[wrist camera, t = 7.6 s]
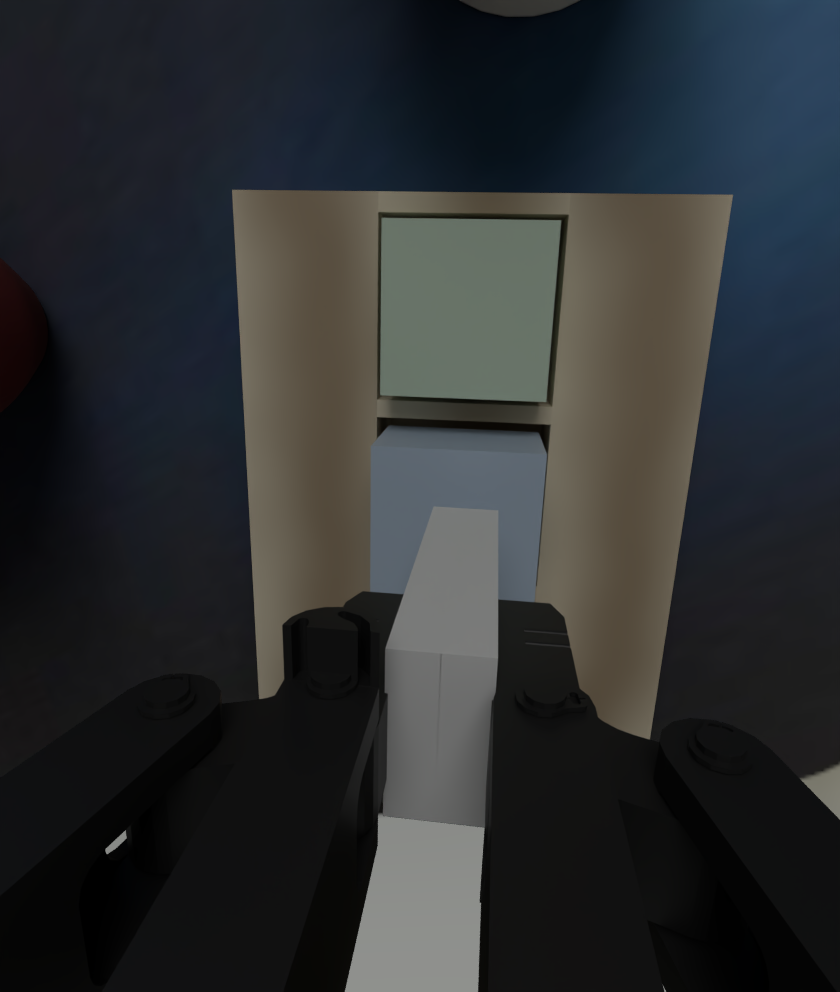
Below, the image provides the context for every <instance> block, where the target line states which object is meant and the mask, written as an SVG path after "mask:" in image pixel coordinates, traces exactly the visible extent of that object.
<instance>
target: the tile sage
mask: <svg viewBox="0 0 840 992" xmlns="http://www.w3.org/2000/svg"><path fill="white" fill-rule="evenodd" d="M560 229H561V220H506V219H434V218H382V234H381V353H380V395H384V396H409V397H433V398H458V399H482V400H507V401H531V402H546V398H547V386H548V374H549V362H550V350H551V338H552V326H553V313H554V301H555V289H556V277H557V265H558V253H559V241H560Z"/></svg>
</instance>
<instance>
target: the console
mask: <svg viewBox="0 0 840 992" xmlns="http://www.w3.org/2000/svg"><path fill="white" fill-rule="evenodd" d="M232 194H233V213H234V232H235V251H236V270H237V289H238V307H239V326H240V345H241V364H242V383H243V402H244V421H245V440H246V459H247V478H248V496H249V515H250V534H251V553H252V572H253V591H254V610H255V629H256V648H257V666H258V685H259V699H263V698H268V697H271V696H275V694H276V692H277V691H278V689H279V687H280V686H281V684H282V682H283V680H284V660H283V633H282V625H283V624H284V623H285V622H286V621H287V620H288V619H289V618H291V617H292V616H294V615H297V614H299V613H301V612H304V611H306V610H311V609H316V608H322V607H343V606H344V604H345V602H347V601H348V600H350V599H351V598H353V597H354V596H356V595H357V594H359V593H361V592H362V591H367V592H370V522H371V445H372V444H373V443H374V442H375V441H376V439H377V438H378V437H379V436H380V435H381V434H382V433H383V432H384V430H385V429H386V428H387V427H388V426H389V425H394V426H416V427H438V428H460V429H482V430H504V431H526V432H538V433H539V435H540V438H541V440H542V443H543V445H544V448H545V451H546V453H547V461H546V472H545V484H544V496H543V507H542V519H541V531H540V543H539V554H538V566H537V578H536V589H535V601H534V602H539V603H550V604H551V605H552V606H553V607H554V608H555V609H556V610H557V611H559V612H560V613H561V614H562V615H563V616H564V618H565V623H566V627H567V632H568V633H567V635H568V636H569V641H570V648H571V650H572V655H573V660H574V664H575V669H576V673H577V678H578V683H579V687H580V689H581V690H582V691H584V692H585V693H586V694H587V695H589V697H590V698H591V700H592V702H593V704H594V705H595V707H596V711H597V715H598V718H600V719H601V720H602V721H604V722H605V723H607V724H609V725H611V726H613V727H615V728H617V729H619V730H622V731H624V732H627V733H630V734H633V735H636V736H639V737H643V738H646V739H649V740H650V734H651V728H652V721H653V715H654V708H655V702H656V695H657V688H658V682H659V675H660V669H661V662H662V656H663V649H664V643H665V636H666V629H667V623H668V616H669V610H670V603H671V597H672V590H673V584H674V577H675V571H676V564H677V557H678V551H679V544H680V538H681V531H682V525H683V518H684V512H685V505H686V499H687V492H688V485H689V479H690V472H691V466H692V459H693V453H694V446H695V440H696V433H697V426H698V420H699V413H700V407H701V400H702V394H703V387H704V381H705V374H706V368H707V361H708V354H709V348H710V341H711V335H712V328H713V322H714V315H715V309H716V302H717V296H718V289H719V282H720V276H721V269H722V263H723V256H724V250H725V243H726V237H727V230H728V223H729V217H730V210H731V204H732V197H733V195H692V194H592V193H491V192H391V191H290V190H232ZM382 218H434V219H506V220H561V229H560V241H559V253H558V265H557V277H556V289H555V301H554V313H553V326H552V338H551V350H550V362H549V374H548V386H547V398H546V402H531V401H507V400H482V399H458V398H433V397H409V396H384V395H380V353H381V234H382Z"/></svg>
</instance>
